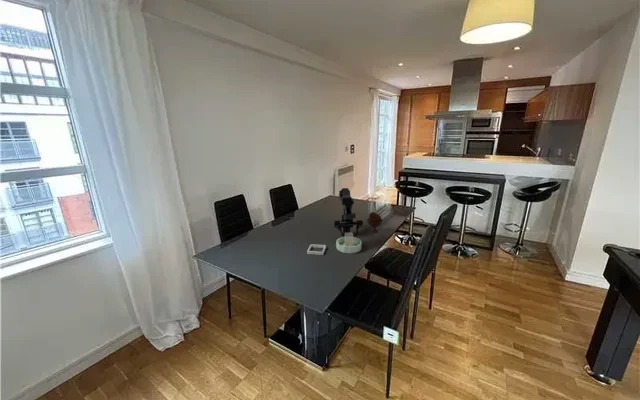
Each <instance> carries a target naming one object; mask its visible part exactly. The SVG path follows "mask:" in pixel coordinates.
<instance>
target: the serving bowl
mask: <svg viewBox="0 0 640 400" xmlns="http://www.w3.org/2000/svg"><path fill="white" fill-rule="evenodd" d="M335 243H336V244H335V247H336V250H337V251H338V252H341V253H343V254H357V253H359V252H360V251H361V250H362V240H361V239H360V238H358V237H355V236H353V247H345V236H341V237H339V238H338V239H336V242H335Z"/></svg>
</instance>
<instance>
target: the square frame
mask: <svg viewBox="0 0 640 400" xmlns="http://www.w3.org/2000/svg"><path fill="white" fill-rule="evenodd" d="M312 248H320V249H322V251H316V250H311V249H312ZM326 249H327V245H326V244H310V245H309V246H308V249H307V251H306V253H307V255H319V256H324V255H325V254H324V253H325V251H326Z"/></svg>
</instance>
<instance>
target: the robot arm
mask: <svg viewBox="0 0 640 400" xmlns="http://www.w3.org/2000/svg"><path fill="white" fill-rule="evenodd" d="M338 191H339V193H338V197H339V199H340V200H339V201H341V202H340V203H341V205H342V215H341V219H340V220H339V219H337V220H333V227H334V228H335V229H337V230H338V232H339V233H340V236H341V237H345V232H351V228H353V227H354V226H355V236H356V237H358V232H359V229H361V228H362V227H363V225H364V221H363V219H357V220H356V221H354V219H356V212H353V210H352V209H353V205H354V204H355V202H354V201H355V200H354V198H352V196H351V191H350V189H349V188H348V187H347V188H346V187H345V188H344V187H343V188H341V189H340V190H338Z"/></svg>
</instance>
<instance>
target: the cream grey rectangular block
mask: <svg viewBox="0 0 640 400" xmlns="http://www.w3.org/2000/svg"><path fill="white" fill-rule="evenodd" d="M353 233H354V232H352V231H350V232H345V236H344V237H345V247H353V237H354V234H353Z"/></svg>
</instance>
